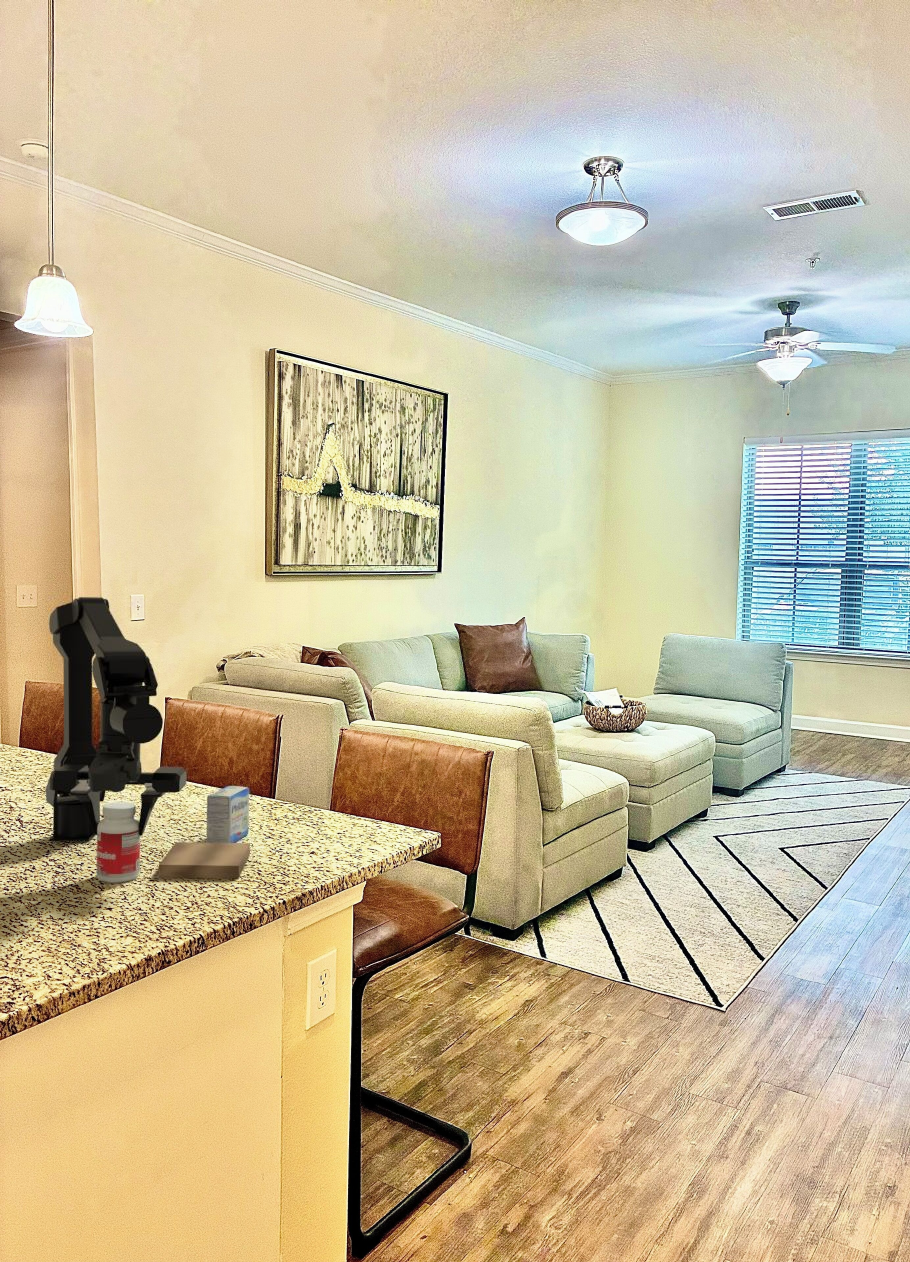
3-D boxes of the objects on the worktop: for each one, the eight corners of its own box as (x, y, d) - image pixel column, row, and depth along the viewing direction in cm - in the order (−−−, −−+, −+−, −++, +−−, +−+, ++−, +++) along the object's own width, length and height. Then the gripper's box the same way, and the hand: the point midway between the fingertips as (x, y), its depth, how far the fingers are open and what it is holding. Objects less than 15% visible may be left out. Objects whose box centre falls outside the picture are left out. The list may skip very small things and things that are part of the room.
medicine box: (229, 847, 161) (230, 796, 160) (205, 844, 162) (206, 794, 161) (248, 835, 169) (250, 787, 168) (225, 832, 170) (226, 784, 169)
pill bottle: (88, 876, 143) (89, 804, 142) (125, 868, 148) (126, 798, 147) (110, 886, 139) (111, 812, 138) (147, 877, 144) (148, 805, 143)
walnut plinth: (158, 877, 144) (158, 864, 144) (175, 854, 156) (175, 842, 156) (238, 878, 145) (239, 865, 145) (249, 855, 157) (249, 843, 157)
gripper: (37, 740, 133) (35, 849, 134) (172, 743, 135) (170, 851, 136) (63, 727, 144) (62, 828, 145) (188, 730, 146) (186, 830, 147)
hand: (118, 834), depth 143 cm, fingers closed on pill bottle, 6 cm apart
